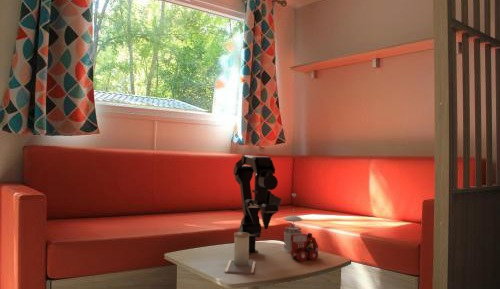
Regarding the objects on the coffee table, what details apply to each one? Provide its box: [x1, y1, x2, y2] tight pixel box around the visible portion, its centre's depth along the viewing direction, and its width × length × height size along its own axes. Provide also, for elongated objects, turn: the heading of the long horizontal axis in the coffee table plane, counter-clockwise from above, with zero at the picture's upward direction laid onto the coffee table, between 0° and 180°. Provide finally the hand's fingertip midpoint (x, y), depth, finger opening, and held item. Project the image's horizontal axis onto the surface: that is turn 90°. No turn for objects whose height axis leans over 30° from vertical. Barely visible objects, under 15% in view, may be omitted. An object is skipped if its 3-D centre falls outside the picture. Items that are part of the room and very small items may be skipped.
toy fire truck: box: [290, 232, 319, 262], centre depth 175 cm, size 7×12×10 cm, turn 113°
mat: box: [224, 259, 256, 275], centre depth 159 cm, size 15×10×1 cm, turn 176°
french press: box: [281, 193, 303, 254], centre depth 189 cm, size 10×12×25 cm
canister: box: [233, 231, 250, 266], centre depth 161 cm, size 6×6×12 cm
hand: (260, 226), depth 171 cm, fingers open, 9 cm apart
